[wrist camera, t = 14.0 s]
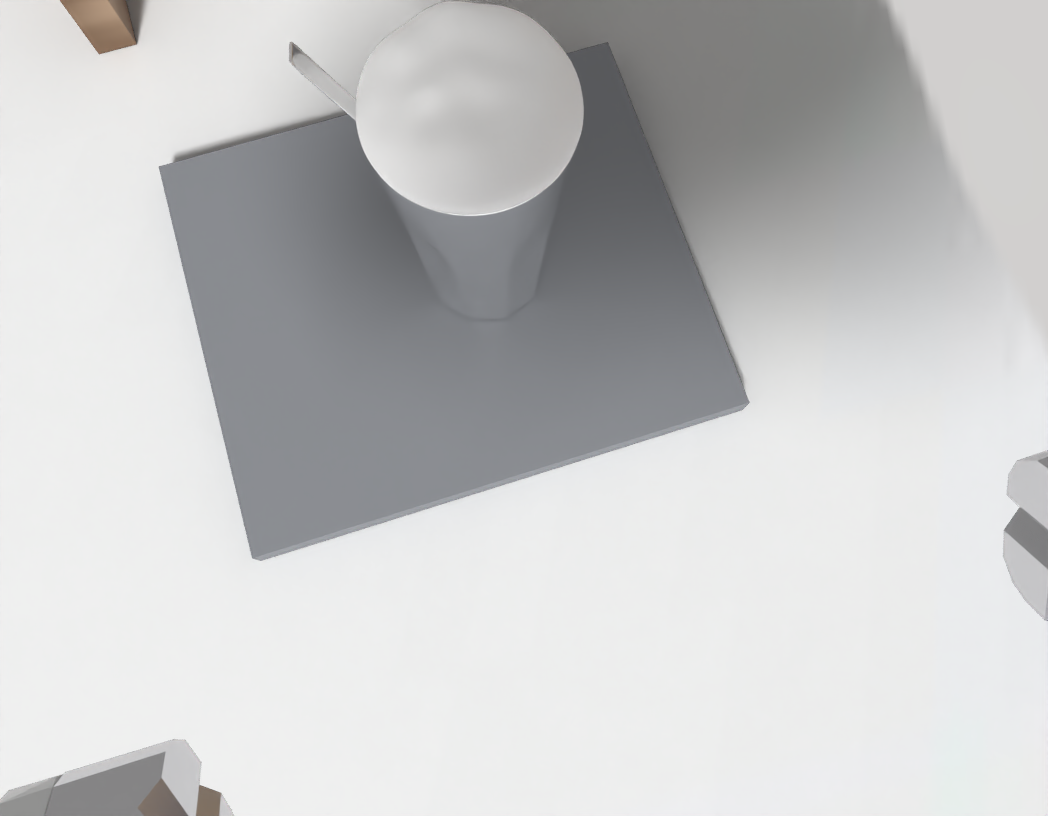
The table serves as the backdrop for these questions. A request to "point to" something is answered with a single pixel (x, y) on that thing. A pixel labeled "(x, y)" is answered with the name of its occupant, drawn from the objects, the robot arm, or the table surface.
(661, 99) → the table surface
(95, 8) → the walnut cubby
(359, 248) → the grey pad
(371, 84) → the milkshake
